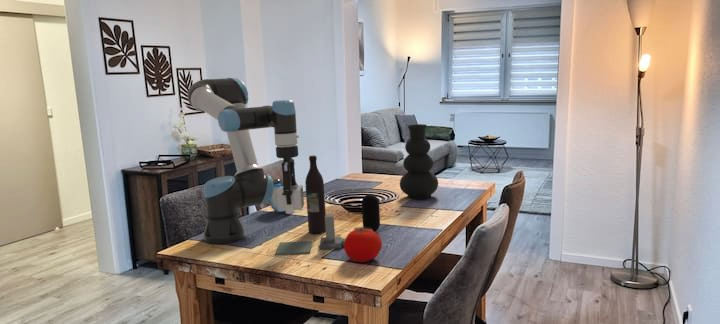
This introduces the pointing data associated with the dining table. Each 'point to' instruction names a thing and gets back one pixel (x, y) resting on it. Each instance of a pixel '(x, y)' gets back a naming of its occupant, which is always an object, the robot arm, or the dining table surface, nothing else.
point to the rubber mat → (294, 248)
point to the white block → (297, 198)
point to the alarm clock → (275, 195)
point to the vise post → (333, 235)
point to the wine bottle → (315, 199)
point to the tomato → (362, 245)
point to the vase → (418, 165)
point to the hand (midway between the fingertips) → (291, 209)
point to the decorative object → (371, 212)
